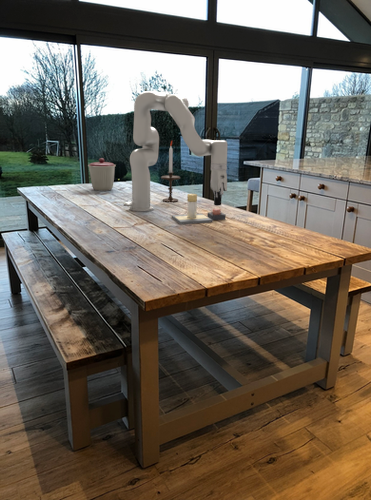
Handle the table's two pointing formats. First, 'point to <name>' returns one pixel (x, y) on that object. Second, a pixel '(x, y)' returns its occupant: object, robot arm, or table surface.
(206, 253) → the table surface
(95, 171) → the canister
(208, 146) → the robot arm
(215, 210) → the button
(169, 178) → the candlestick
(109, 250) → the table surface
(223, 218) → the button housing
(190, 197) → the marker
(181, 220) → the board
